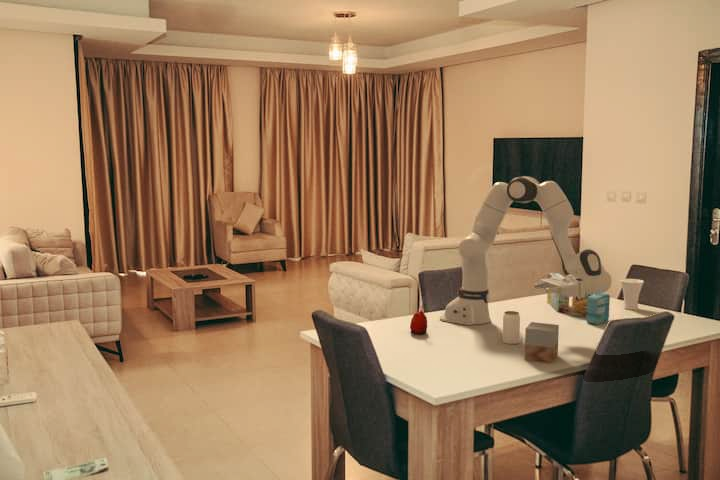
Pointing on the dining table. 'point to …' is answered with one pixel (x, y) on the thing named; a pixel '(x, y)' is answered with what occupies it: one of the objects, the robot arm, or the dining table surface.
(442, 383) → the dining table surface
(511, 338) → the can
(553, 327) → the tower top
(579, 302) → the candy box
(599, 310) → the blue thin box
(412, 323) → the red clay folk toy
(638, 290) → the cup
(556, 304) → the snack box
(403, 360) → the dining table surface
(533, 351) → the tower base
